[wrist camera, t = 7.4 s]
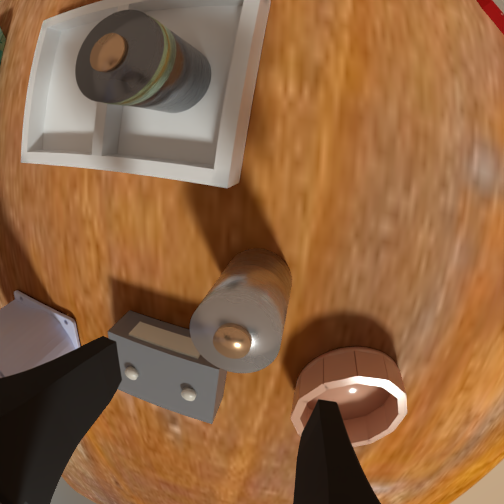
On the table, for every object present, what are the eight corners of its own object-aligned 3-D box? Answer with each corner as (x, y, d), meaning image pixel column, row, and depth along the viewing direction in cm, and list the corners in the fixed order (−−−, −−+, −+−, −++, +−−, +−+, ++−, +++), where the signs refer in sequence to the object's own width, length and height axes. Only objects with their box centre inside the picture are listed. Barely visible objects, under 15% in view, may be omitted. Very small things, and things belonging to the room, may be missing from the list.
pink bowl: (285, 411, 21) (280, 439, 19) (312, 336, 19) (310, 366, 16) (374, 423, 20) (377, 451, 18) (417, 355, 18) (427, 383, 15)
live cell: (138, 109, 15) (60, 101, 9) (155, 45, 14) (84, 12, 8) (202, 118, 15) (135, 104, 9) (219, 49, 13) (165, 1, 7)
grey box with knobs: (134, 367, 23) (115, 392, 20) (129, 308, 21) (104, 332, 18) (222, 396, 22) (210, 427, 19) (231, 339, 20) (217, 372, 17)
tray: (43, 158, 18) (20, 162, 16) (64, 26, 14) (43, 20, 12) (239, 182, 16) (227, 188, 14) (270, 2, 12) (263, -17, 10)
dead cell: (222, 300, 19) (184, 364, 13) (230, 241, 18) (188, 291, 12) (284, 315, 18) (268, 387, 13) (298, 256, 17) (289, 316, 11)
